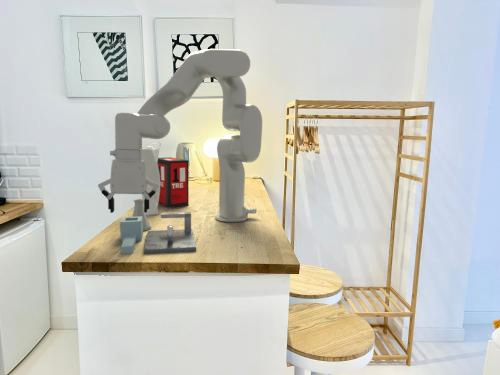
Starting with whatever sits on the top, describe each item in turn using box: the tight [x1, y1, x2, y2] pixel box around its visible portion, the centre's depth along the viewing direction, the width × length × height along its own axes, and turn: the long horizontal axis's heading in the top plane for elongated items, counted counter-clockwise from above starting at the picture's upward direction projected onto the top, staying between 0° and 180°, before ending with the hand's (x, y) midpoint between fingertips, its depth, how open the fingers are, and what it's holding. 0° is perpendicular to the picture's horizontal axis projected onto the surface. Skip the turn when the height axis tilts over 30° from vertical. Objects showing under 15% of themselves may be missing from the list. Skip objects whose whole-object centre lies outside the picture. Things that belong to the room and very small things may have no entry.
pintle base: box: [143, 211, 197, 255], centre depth 107 cm, size 14×18×7 cm
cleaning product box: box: [157, 156, 190, 209], centre depth 160 cm, size 16×9×20 cm, turn 40°
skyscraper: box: [141, 141, 162, 216], centre depth 141 cm, size 8×8×28 cm
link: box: [119, 216, 144, 255], centre depth 106 cm, size 17×6×6 cm, turn 13°
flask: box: [131, 198, 152, 232], centre depth 120 cm, size 7×7×10 cm
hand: (129, 211), depth 109 cm, fingers open, 9 cm apart
